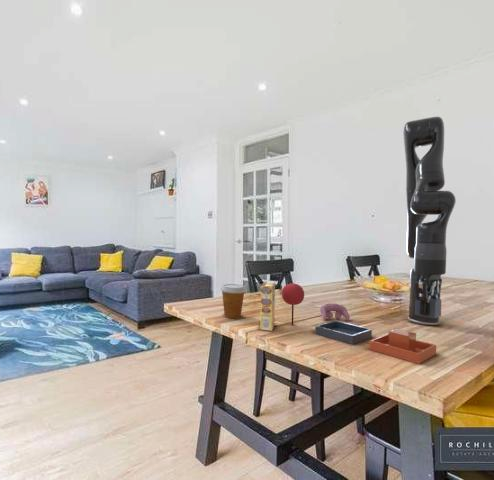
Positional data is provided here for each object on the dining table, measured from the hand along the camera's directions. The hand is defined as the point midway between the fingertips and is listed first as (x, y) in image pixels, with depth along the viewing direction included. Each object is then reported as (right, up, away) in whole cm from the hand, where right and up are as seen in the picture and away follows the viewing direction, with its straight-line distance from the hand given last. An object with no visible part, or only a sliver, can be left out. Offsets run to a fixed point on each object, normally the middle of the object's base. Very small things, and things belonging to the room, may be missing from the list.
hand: (427, 313), depth 100 cm
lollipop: (-34, -9, +19) cm, 40 cm away
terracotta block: (-12, -9, -6) cm, 16 cm away
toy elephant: (-15, -9, +28) cm, 33 cm away
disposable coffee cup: (-54, -8, +30) cm, 62 cm away
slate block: (0, -1, 0) cm, 1 cm away
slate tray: (-22, -9, +8) cm, 25 cm away
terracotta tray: (-12, -10, -6) cm, 16 cm away
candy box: (-44, -9, +16) cm, 48 cm away
